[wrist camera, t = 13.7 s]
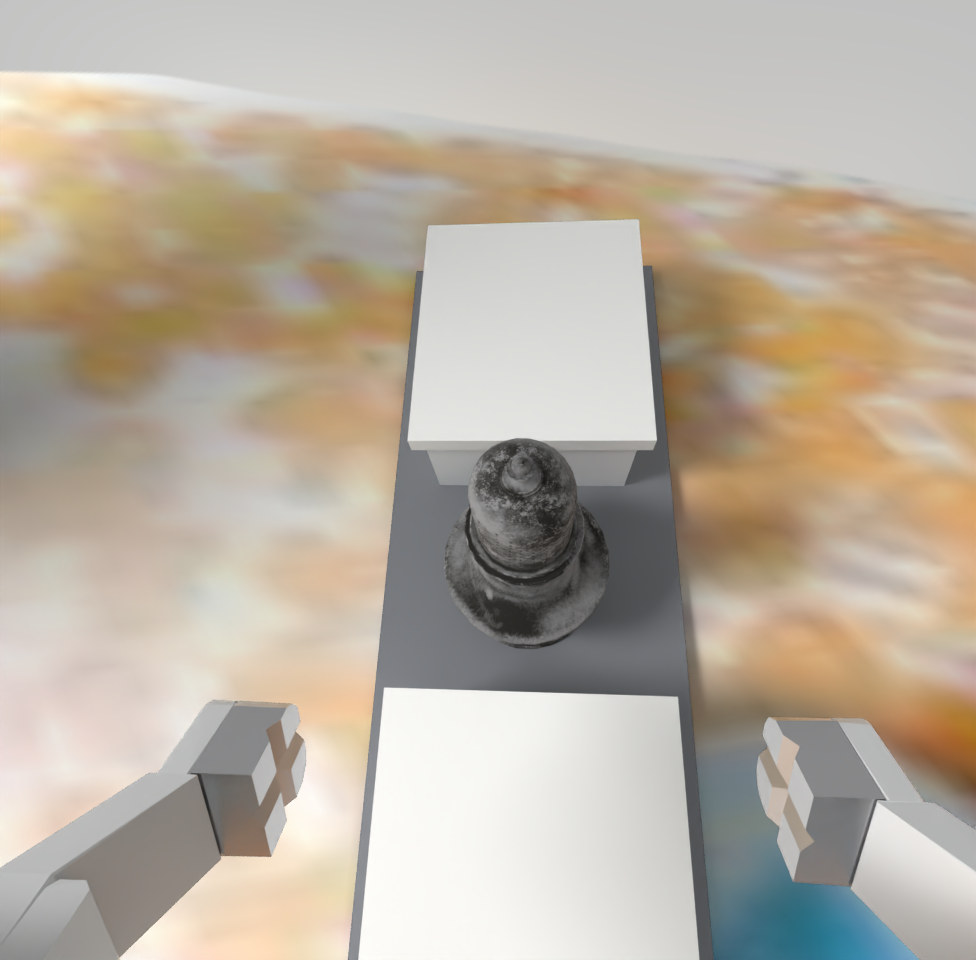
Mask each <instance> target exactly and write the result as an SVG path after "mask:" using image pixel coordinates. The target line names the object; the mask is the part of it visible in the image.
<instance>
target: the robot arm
mask: <svg viewBox="0 0 976 960" xmlns="http://www.w3.org/2000/svg"><path fill="white" fill-rule="evenodd" d="M299 723H300V716H299V712H298V708H297V706H296V705H294V704H290V703H271V702H253V701H223V700H212V701H211V702H209V703H207V704H206V705H205V706H204V707H203V709H202V710H201V711H200V713H199V714H198V716H197V717H196V719H195V720H194V722H193V723H192V724H191V726H190V727H189V729H188V730H187V732H186V733H185V734H184V736H183V737H182V739H181V740H180V742H179V743H178V744H177V746H176V747H175V749H174V750H173V752H172V753H171V754H170V756H169V757H168V759H167V760H166V762H165V763H164V764H163V766H162V767H161V769H160V770H159V772H158V773H148V774H147V775H145V776H143V777H142V778H140V779H139V780H137V781H136V782H134V783H133V784H131V785H129V786H128V787H126V788H125V789H123V790H122V791H120V792H118V793H117V794H115V795H114V796H112V797H111V798H109V799H107V800H106V801H104V802H103V803H101V804H100V805H98V806H96V807H95V808H93V809H92V810H90V811H89V812H87V813H85V814H84V815H82V816H81V817H79V818H78V819H76V820H75V821H73V822H71V823H70V824H68V825H67V826H65V827H64V828H62V829H60V830H59V831H57V832H56V833H54V834H53V835H51V836H49V837H48V838H46V839H45V840H43V841H42V842H40V843H38V844H37V845H35V846H34V847H32V848H31V849H29V850H27V851H26V852H24V853H23V854H21V855H20V856H18V857H17V858H15V859H13V860H12V861H10V862H9V863H7V864H6V865H4V866H2V867H1V868H0V960H120V958H119V957H120V956H122V955H123V954H124V953H125V952H126V951H127V950H128V949H129V948H130V947H131V946H132V945H133V944H134V943H135V942H136V941H137V940H138V939H139V938H140V937H141V936H142V935H143V934H144V933H145V932H146V931H147V930H148V929H149V928H150V927H151V926H152V925H154V924H155V923H156V922H157V921H158V920H159V919H160V918H161V917H162V916H163V915H164V914H165V913H166V912H167V911H168V910H169V909H170V908H171V907H172V906H173V905H174V904H175V903H176V902H177V901H178V900H179V899H180V898H181V897H182V896H183V895H184V894H186V893H187V892H188V891H189V890H190V889H191V888H192V887H193V886H194V885H195V884H196V883H197V882H198V881H199V880H200V879H201V878H202V877H203V876H204V875H205V874H206V873H207V872H208V871H209V870H210V869H211V868H212V867H213V866H214V865H215V864H216V863H218V862H219V861H220V860H221V856H258V857H271V856H272V854H273V851H274V849H275V847H276V844H277V842H278V840H279V837H280V835H281V833H282V830H283V828H284V825H285V823H286V821H287V819H286V814H285V809H284V807H285V806H286V805H287V804H288V803H290V802H291V801H292V800H293V799H294V798H296V797H297V794H298V792H299V789H300V787H301V784H302V782H303V777H304V772H305V766H306V748H305V742H304V739H303V738H302V737H301V736H300V735H299V734H298V733H296V732H295V731H296V729H297V727H298V725H299ZM762 735H763V737H764V740H765V742H766V744H767V746H768V747H767V748H766V749H765V750H764V751H763V752H761V753H760V754H759V756H758V763H757V770H756V772H757V786H758V791H759V795H760V799H761V803H762V805H763V808H764V810H765V813H766V816H767V817H768V818H770V819H771V820H772V821H773V822H774V823H775V824H777V825H778V826H779V827H780V828H779V833H778V837H777V843H778V846H779V848H780V851H781V853H782V856H783V858H784V861H785V863H786V865H787V868H788V870H789V873H790V875H791V878H792V880H793V882H801V883H814V884H827V885H840V886H852V887H851V890H852V891H853V892H854V893H855V894H856V895H857V896H858V897H859V898H860V899H861V900H862V901H863V902H864V903H865V904H866V905H867V906H868V907H869V908H870V909H871V910H872V911H873V913H874V914H875V915H876V916H877V917H878V918H879V919H880V920H881V921H882V922H883V923H884V924H885V925H886V926H887V927H888V928H889V929H890V930H891V931H892V932H893V933H894V934H895V935H896V936H897V937H898V938H899V939H900V940H901V941H902V942H903V943H904V944H905V945H906V946H907V947H908V948H909V949H910V950H911V951H912V952H913V953H914V954H915V955H916V956H917V957H918V958H919V959H920V960H976V830H975V829H973V828H972V827H970V826H969V825H967V824H966V823H964V822H963V821H961V820H960V819H958V818H957V817H955V816H954V815H952V814H951V813H949V812H948V811H946V810H945V809H943V808H942V807H940V806H939V805H937V804H936V803H929V802H924V800H923V799H922V798H921V796H920V795H919V793H918V792H917V790H916V789H915V787H914V786H913V785H912V783H911V782H910V780H909V779H908V777H907V776H906V775H905V773H904V772H903V770H902V769H901V767H900V766H899V764H898V763H897V762H896V760H895V759H894V757H893V756H892V754H891V753H890V752H889V750H888V749H887V747H886V746H885V744H884V743H883V741H882V740H881V739H880V737H879V736H878V734H877V733H876V731H875V730H874V729H873V727H872V726H871V724H870V723H869V722H867V721H866V720H865V719H863V718H830V719H829V718H796V717H768V719H767V720H766V722H765V725H764V729H763V734H762Z"/></svg>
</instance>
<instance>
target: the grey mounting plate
mask: <svg viewBox="0 0 976 960" xmlns="http://www.w3.org/2000/svg"><path fill="white" fill-rule="evenodd" d="M515 438H530V439H534V440H537V441H541V442H544V443H546V444H547V445H549V446H551V447H553V448H555V449H556V450H557V451H558V452H559V453H560V454H561V455H562V456H563V457H564V458H565V459H566V461H567V463H568V464H569V466H570V467H571V469H572V471H573V474H574V477H575V480H576V484H577V500H578V501H579V502H580V503H581V504H582V505H583V506H584V507H585V508H586V509H587V510H588V511H589V512H590V513H591V514H592V515H593V517H594V518H595V520H596V522H597V523H598V525H599V526H600V528H601V530H602V531H603V534H604V537H605V541H606V544H607V547H608V550H609V577H608V581H607V585H606V589H605V593H604V595H603V597H602V599H601V600H600V602H599V604H598V606H597V607H596V609H595V611H594V613H593V614H592V615H591V616H590V617H589V618H588V619H587V620H586V621H585V622H584V623H583V624H582V625H581V626H580V627H579V628H578V629H576V630H574V631H572V632H571V633H570V634H569V635H568V636H567V637H565V638H564V639H562V640H560V641H558V642H556V643H554V644H553V645H550V646H546V647H541V648H537V649H519V648H514V647H511V646H508V645H505V644H501V643H499V642H498V641H496V640H494V639H493V638H491V637H490V636H488V635H487V634H485V633H484V632H482V631H481V630H479V629H478V628H476V627H475V626H473V625H472V624H471V623H470V622H469V621H468V620H467V619H466V617H465V616H464V615H463V614H462V613H461V612H460V611H459V610H458V608H457V607H456V604H455V602H454V600H453V598H452V596H451V594H450V592H449V590H448V588H447V582H446V577H445V572H444V558H445V547H446V544H447V541H448V538H449V536H450V533H451V530H452V527H453V526H454V524H455V523H456V522H457V520H458V519H459V517H460V516H461V514H462V513H463V511H464V510H465V509H467V508H468V507H469V499H468V485H469V480H470V477H471V474H472V471H473V468H474V466H475V464H476V463H477V461H478V460H479V458H480V457H481V456H482V455H483V454H484V453H485V452H486V451H487V450H488V449H490V448H491V447H492V446H494V445H496V444H498V443H500V442H502V441H506V440H510V439H515ZM348 960H714V959H713V948H712V936H711V925H710V914H709V903H708V891H707V880H706V869H705V858H704V847H703V835H702V824H701V813H700V802H699V790H698V779H697V768H696V757H695V746H694V734H693V723H692V712H691V701H690V689H689V678H688V667H687V656H686V645H685V633H684V622H683V611H682V600H681V589H680V577H679V566H678V555H677V544H676V532H675V521H674V510H673V499H672V488H671V476H670V465H669V454H668V443H667V431H666V420H665V409H664V398H663V387H662V375H661V364H660V353H659V342H658V330H657V319H656V308H655V297H654V286H653V274H652V266H643V264H642V252H641V240H640V228H639V219H632V220H598V221H564V222H530V223H496V224H462V225H428V229H427V240H426V250H425V261H424V271H417V274H416V284H415V294H414V304H413V314H412V324H411V334H410V344H409V354H408V364H407V374H406V384H405V394H404V404H403V414H402V424H401V434H400V444H399V454H398V464H397V474H396V484H395V494H394V504H393V514H392V524H391V534H390V544H389V554H388V564H387V574H386V584H385V594H384V604H383V614H382V624H381V634H380V644H379V653H378V663H377V673H376V683H375V693H374V703H373V713H372V723H371V733H370V743H369V753H368V763H367V773H366V783H365V793H364V803H363V813H362V823H361V833H360V843H359V853H358V863H357V873H356V883H355V893H354V903H353V913H352V923H351V933H350V943H349V953H348Z"/></svg>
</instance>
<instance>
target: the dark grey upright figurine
mask: <svg viewBox="0 0 976 960" xmlns="http://www.w3.org/2000/svg"><path fill="white" fill-rule="evenodd" d="M468 499H469V507H468V508H467V509H465V510H464V511H463V513H462V514H461V516H460V517H459V519H458V520H457V522H456V523H455V524H454V526H453V527H452V530H451V533H450V536H449V538H448V541H447V544H446V547H445V558H444V572H445V577H446V582H447V588H448V590H449V592H450V594H451V596H452V598H453V600H454V602H455V604H456V607H457V608H458V610H459V611H460V612H461V613H462V614H463V615H464V616H465V617H466V619H467V620H468V621H469V622H470V623H471V624H472V625H473V626H475V627H476V628H478V629H479V630H481V631H482V632H484V633H485V634H487V635H488V636H490V637H491V638H493V639H494V640H496V641H498V642H499V643H501V644H505V645H508V646H511V647H514V648H519V649H537V648H541V647H546V646H550V645H553V644H554V643H556V642H558V641H560V640H562V639H564V638H565V637H567V636H568V635H569V634H570V633H571V632H572V631H574V630H576V629H578V628H579V627H580V626H581V625H582V624H583V623H584V622H585V621H586V620H587V619H588V618H589V617H590V616H591V615H592V614H593V613H594V611H595V609H596V607H597V606H598V604H599V602H600V600H601V599H602V597H603V595H604V593H605V589H606V585H607V581H608V577H609V550H608V547H607V544H606V541H605V537H604V534H603V531H602V530H601V528H600V526H599V525H598V523H597V522H596V520H595V518H594V517H593V515H592V514H591V513H590V512H589V511H588V510H587V509H586V508H585V507H584V506H583V505H582V504H581V503H580V502H579V501H578V500H577V484H576V480H575V477H574V474H573V471H572V469H571V467H570V466H569V464H568V463H567V461H566V459H565V458H564V457H563V456H562V455H561V454H560V453H559V452H558V451H557V450H556V449H555V448H553V447H551V446H549V445H547V444H546V443H544V442H541V441H537V440H534V439H530V438H515V439H510V440H506V441H502V442H500V443H498V444H496V445H494V446H492V447H491V448H490V449H488V450H487V451H486V452H485V453H484V454H483V455H482V456H481V457H480V458H479V460H478V461H477V463H476V464H475V466H474V468H473V471H472V474H471V477H470V480H469V485H468Z"/></svg>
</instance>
